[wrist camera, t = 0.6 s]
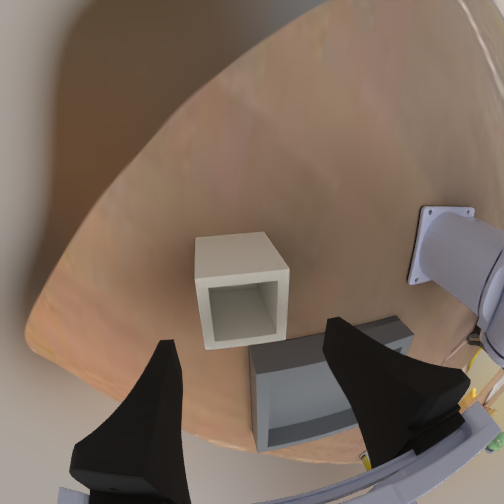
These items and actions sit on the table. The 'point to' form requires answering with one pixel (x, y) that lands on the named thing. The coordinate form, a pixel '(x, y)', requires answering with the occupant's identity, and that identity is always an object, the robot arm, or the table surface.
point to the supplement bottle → (366, 460)
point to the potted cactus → (498, 440)
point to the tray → (306, 387)
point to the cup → (240, 290)
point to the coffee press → (478, 343)
